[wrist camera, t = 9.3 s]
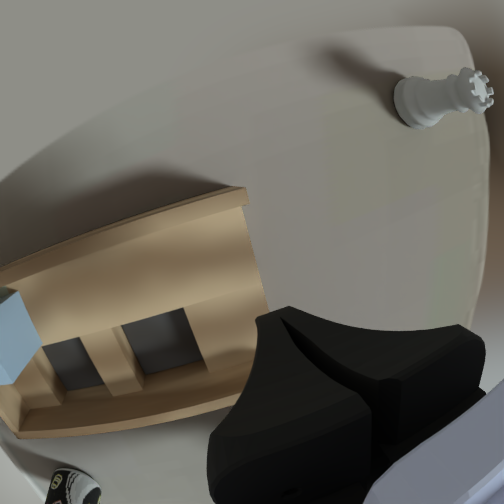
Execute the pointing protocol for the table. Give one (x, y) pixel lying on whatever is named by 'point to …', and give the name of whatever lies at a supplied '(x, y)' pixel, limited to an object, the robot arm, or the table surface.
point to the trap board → (138, 320)
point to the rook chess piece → (441, 97)
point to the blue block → (15, 338)
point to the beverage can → (72, 488)
